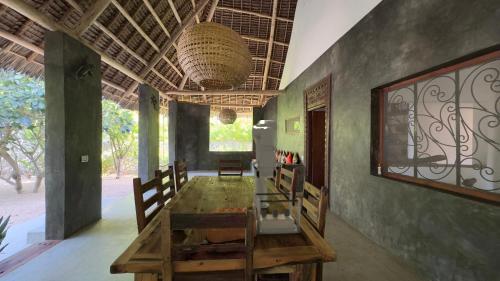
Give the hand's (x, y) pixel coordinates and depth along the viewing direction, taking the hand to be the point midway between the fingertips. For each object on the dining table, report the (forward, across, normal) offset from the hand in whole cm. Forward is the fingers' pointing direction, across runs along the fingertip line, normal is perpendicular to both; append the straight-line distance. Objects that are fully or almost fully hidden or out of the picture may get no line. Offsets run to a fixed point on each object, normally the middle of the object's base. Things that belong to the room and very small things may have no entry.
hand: (266, 177), depth 134 cm
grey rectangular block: (+24, +1, 0) cm, 24 cm away
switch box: (+30, -6, 0) cm, 31 cm away
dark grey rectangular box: (+24, -6, 0) cm, 24 cm away
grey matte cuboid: (+24, -13, 0) cm, 27 cm away
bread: (+30, +20, +8) cm, 37 cm away
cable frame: (+30, -6, 0) cm, 31 cm away
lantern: (+30, +44, +6) cm, 54 cm away
